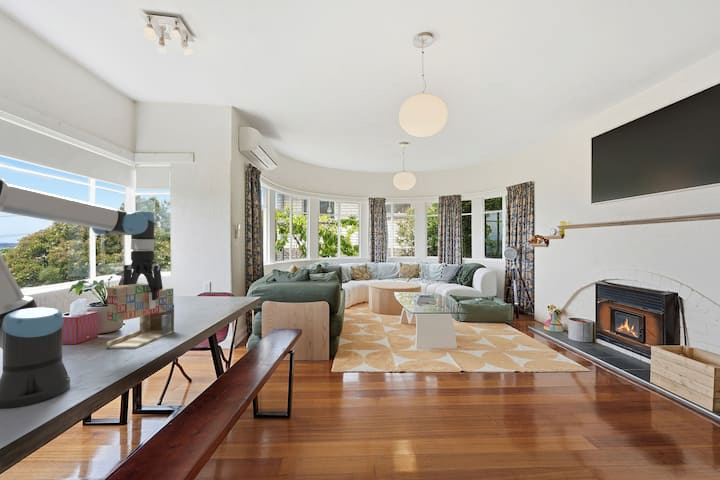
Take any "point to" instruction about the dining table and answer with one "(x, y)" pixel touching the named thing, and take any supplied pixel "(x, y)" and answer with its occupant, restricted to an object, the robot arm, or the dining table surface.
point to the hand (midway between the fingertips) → (141, 308)
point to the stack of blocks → (136, 301)
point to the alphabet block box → (146, 331)
